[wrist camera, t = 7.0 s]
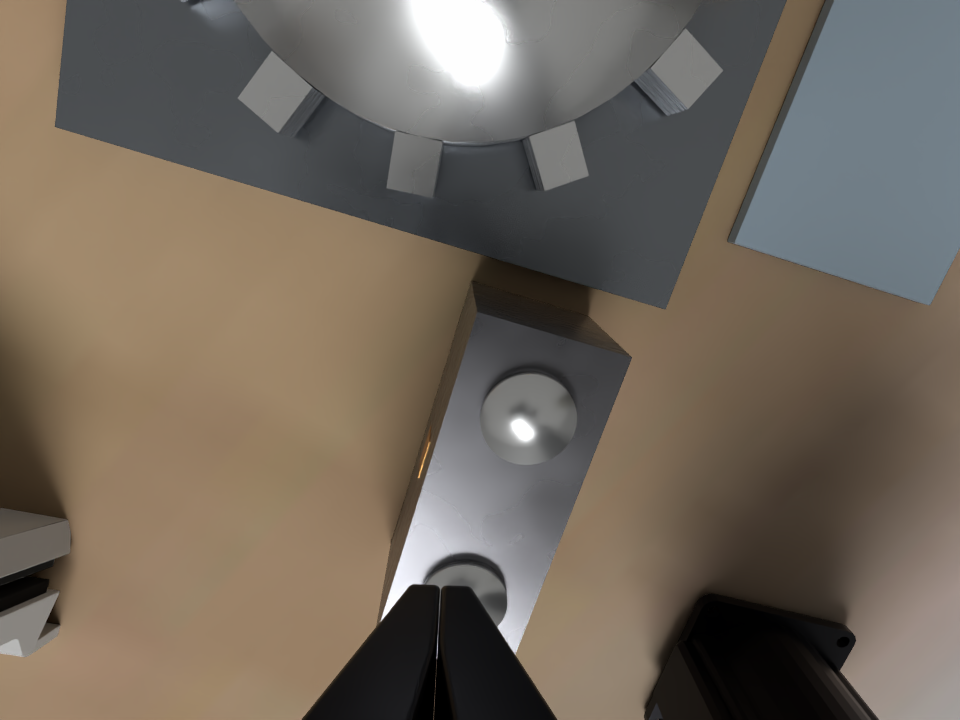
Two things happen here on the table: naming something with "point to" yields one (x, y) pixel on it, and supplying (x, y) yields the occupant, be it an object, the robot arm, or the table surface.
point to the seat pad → (867, 150)
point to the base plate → (463, 169)
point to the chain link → (504, 453)
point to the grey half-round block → (28, 578)
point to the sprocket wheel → (472, 72)
